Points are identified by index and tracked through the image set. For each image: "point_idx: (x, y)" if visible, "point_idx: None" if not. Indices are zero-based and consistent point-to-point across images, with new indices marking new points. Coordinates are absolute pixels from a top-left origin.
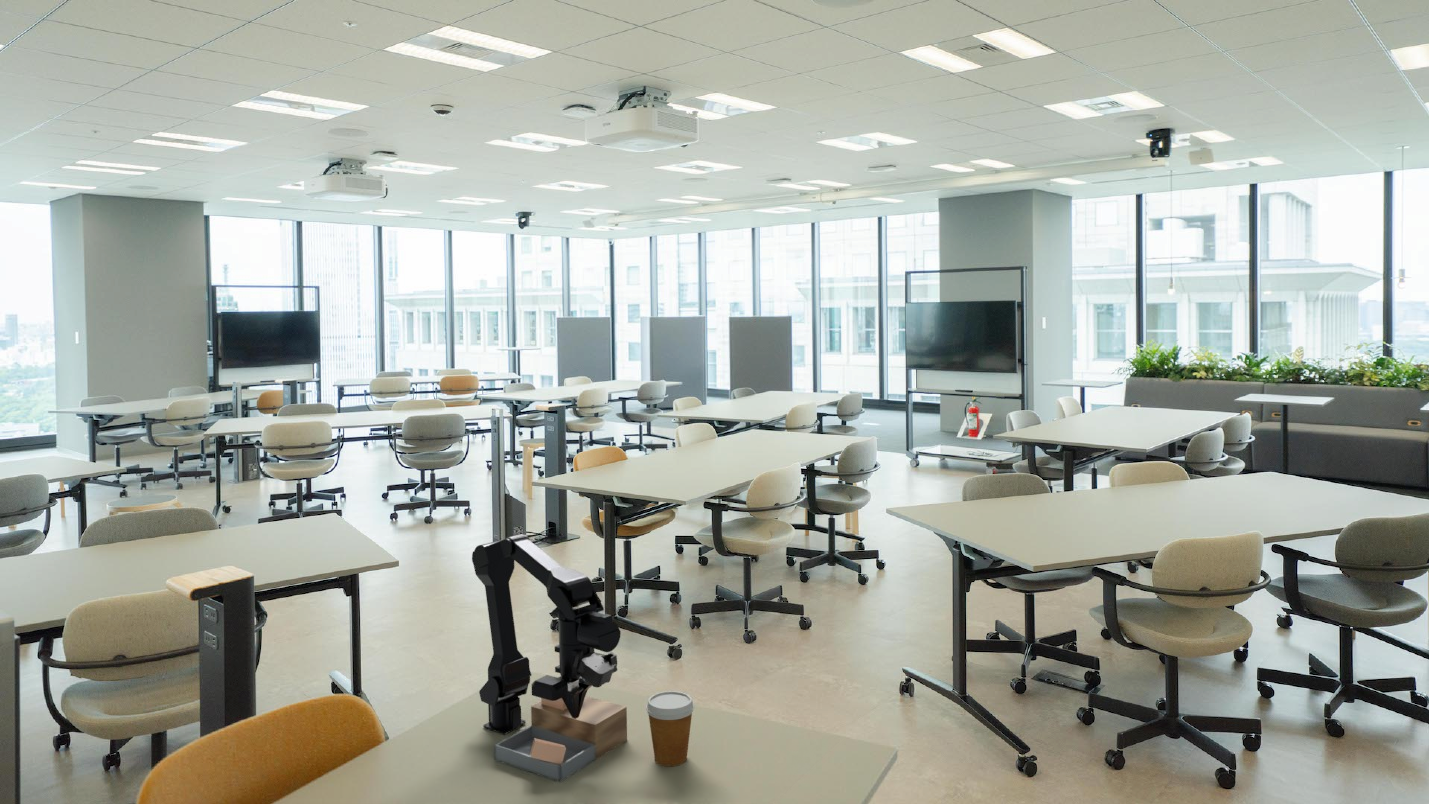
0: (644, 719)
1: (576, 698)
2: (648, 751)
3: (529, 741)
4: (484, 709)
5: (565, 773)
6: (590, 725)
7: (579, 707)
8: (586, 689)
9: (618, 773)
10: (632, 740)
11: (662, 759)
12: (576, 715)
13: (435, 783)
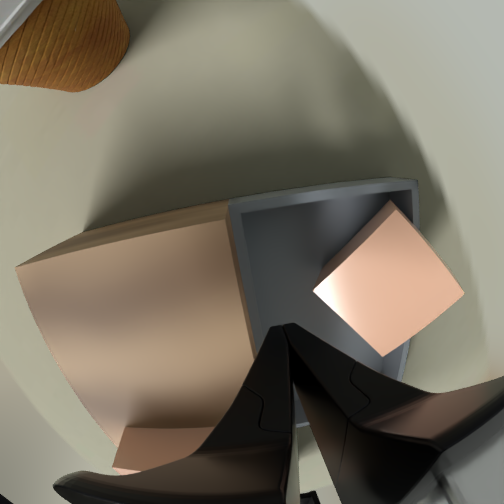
0: (13, 287)
1: (372, 394)
2: (86, 125)
3: None
4: None
5: (379, 179)
6: (232, 252)
7: (286, 354)
8: (239, 459)
9: (244, 76)
10: (74, 218)
11: (124, 22)
12: (297, 329)
13: (467, 354)
